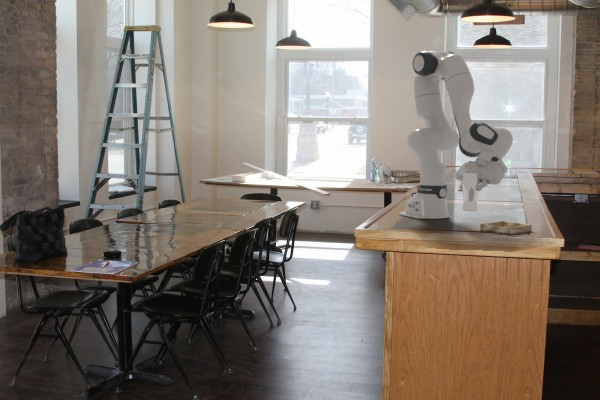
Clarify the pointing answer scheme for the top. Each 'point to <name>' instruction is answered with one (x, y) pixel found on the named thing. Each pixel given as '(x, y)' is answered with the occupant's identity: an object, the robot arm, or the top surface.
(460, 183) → the lidded jar
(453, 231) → the top surface
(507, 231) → the oak tray
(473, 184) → the beer glass
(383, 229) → the top surface
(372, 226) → the top surface
